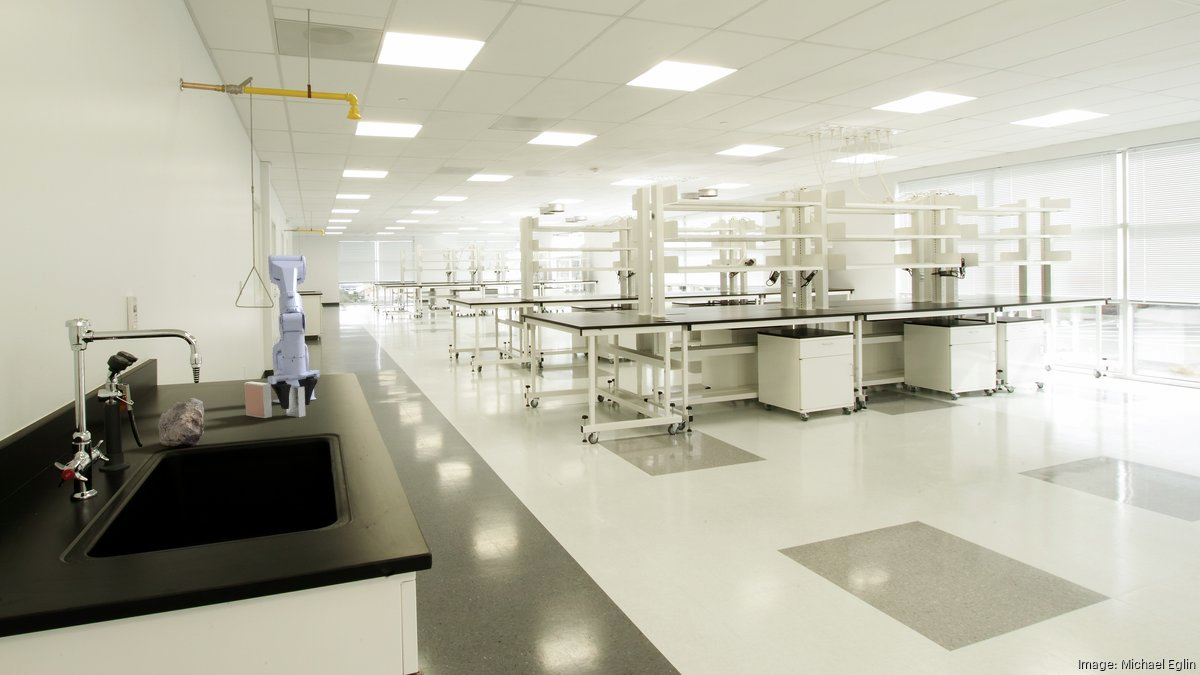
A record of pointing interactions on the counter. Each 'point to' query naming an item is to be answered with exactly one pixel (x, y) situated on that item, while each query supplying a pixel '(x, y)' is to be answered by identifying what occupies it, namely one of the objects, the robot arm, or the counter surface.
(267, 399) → the tile
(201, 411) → the rock
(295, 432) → the counter surface
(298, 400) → the pale grey upright block
